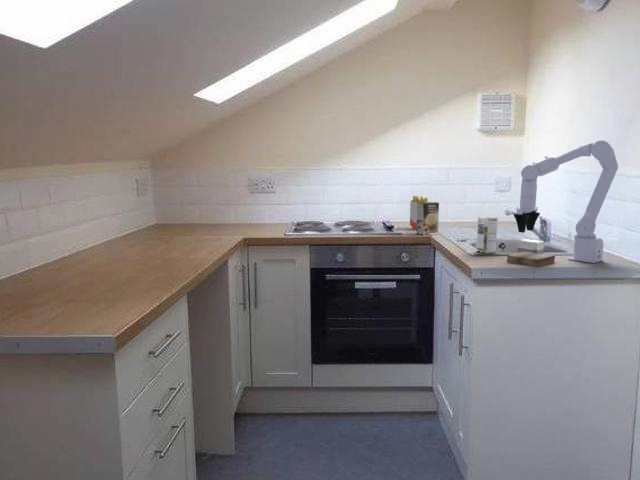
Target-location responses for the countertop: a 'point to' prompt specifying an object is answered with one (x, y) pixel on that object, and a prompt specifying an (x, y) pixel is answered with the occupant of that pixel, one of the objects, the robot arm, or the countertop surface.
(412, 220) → the french fries container
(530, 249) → the block
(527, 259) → the stand
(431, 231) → the coffee box
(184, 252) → the countertop surface
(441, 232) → the countertop surface
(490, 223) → the syrup box
